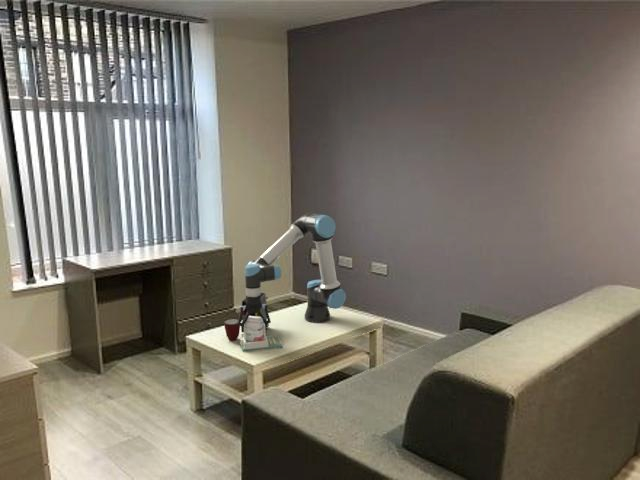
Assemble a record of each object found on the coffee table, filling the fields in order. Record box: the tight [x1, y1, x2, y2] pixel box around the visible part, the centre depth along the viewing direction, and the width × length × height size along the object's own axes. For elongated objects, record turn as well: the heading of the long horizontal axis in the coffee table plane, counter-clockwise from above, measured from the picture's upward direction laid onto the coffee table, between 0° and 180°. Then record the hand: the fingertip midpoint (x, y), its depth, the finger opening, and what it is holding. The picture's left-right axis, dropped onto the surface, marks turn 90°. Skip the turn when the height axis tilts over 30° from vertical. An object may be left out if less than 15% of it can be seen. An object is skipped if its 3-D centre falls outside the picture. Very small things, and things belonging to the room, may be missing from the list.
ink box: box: [245, 316, 264, 342], centre depth 272 cm, size 9×5×12 cm, turn 71°
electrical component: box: [241, 292, 270, 328], centre depth 290 cm, size 18×10×20 cm, turn 168°
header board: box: [239, 333, 283, 353], centre depth 274 cm, size 20×14×4 cm
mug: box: [224, 318, 241, 342], centre depth 281 cm, size 11×8×10 cm
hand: (254, 337), depth 272 cm, fingers closed on ink box, 9 cm apart
